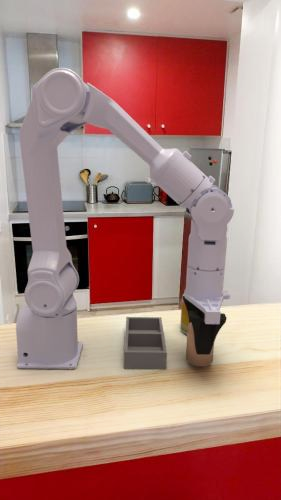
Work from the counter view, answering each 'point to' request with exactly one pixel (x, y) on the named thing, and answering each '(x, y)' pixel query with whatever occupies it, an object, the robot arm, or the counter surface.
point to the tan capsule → (191, 351)
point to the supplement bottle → (184, 318)
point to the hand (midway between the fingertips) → (200, 345)
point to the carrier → (144, 343)
